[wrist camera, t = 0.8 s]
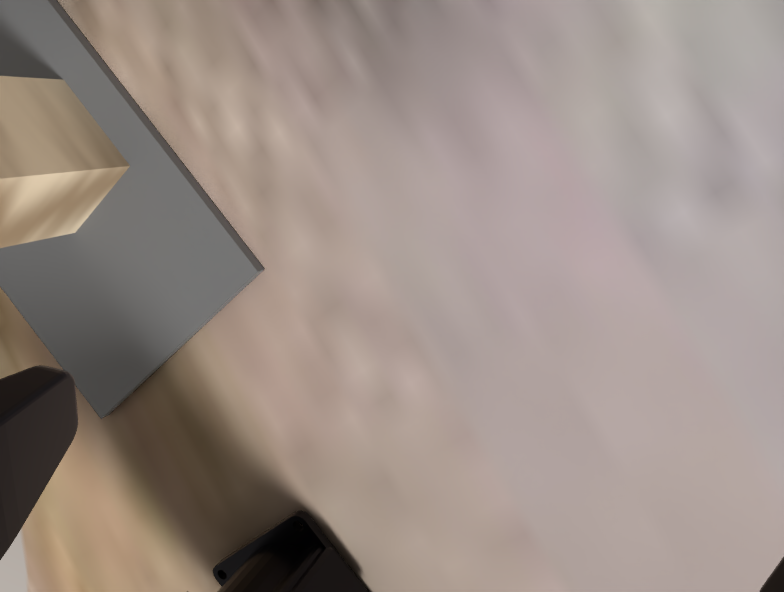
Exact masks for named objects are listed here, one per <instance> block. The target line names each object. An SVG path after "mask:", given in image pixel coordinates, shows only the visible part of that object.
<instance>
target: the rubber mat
mask: <svg viewBox="0 0 784 592" xmlns="http://www.w3.org/2000/svg"><path fill="white" fill-rule="evenodd" d="M0 76H11V77H28V78H44V79H61V80H64V81H65V82H66V83H67V85H68V86H69V87H70V89H71V90H72V91H73V93H74V94H75V95H76V96H77V98H78V99H79V100H80V102H81V103H82V104H83V105H84V107H85V108H86V109H87V111H88V112H89V113H90V115H91V116H92V117H93V118H94V120H95V121H96V122H97V124H98V125H99V126H100V127H101V129H102V130H103V131H104V133H105V134H106V135H107V137H108V138H109V139H110V140H111V142H112V143H113V144H114V146H115V147H116V148H117V150H118V151H119V152H120V153H121V155H122V156H123V157H124V159H125V160H126V161H127V162H128V164H129V165H130V167H129V168H128V169H127V171H126V172H125V173H124V174H123V175H122V177H121V178H120V179H119V180H118V181H117V183H116V184H115V185H114V186H113V188H112V189H111V190H110V191H109V192H108V194H107V195H106V196H105V197H104V198H103V200H102V201H101V202H100V203H99V205H98V206H97V207H96V208H95V209H94V211H93V212H92V213H91V214H90V215H89V217H88V218H87V219H86V220H85V222H84V223H83V224H82V225H81V226H80V228H79V229H78V230H77V231H76V233H72V234H67V235H62V236H57V237H52V238H47V239H42V240H38V241H33V242H28V243H23V244H18V245H13V246H8V247H3V248H0V287H1V288H2V290H3V291H4V292H5V293H6V295H7V296H8V297H9V299H10V300H11V301H12V303H13V304H14V305H15V307H16V308H17V309H18V311H19V312H20V313H21V314H22V316H23V317H24V318H25V320H26V321H27V322H28V324H29V325H30V326H31V328H32V329H33V330H34V332H35V333H36V334H37V335H38V337H39V338H40V339H41V341H42V342H43V343H44V345H45V346H46V347H47V349H48V350H49V351H50V353H51V354H52V355H53V356H54V358H55V359H56V360H57V362H58V363H59V364H60V366H61V367H62V368H63V370H64V371H68V372H69V373H71V374H72V376H73V377H74V380H75V385H76V387H77V388H78V389H79V391H80V392H81V393H82V395H83V396H84V397H85V399H86V400H87V401H88V402H89V404H90V405H91V406H92V408H93V409H94V410H95V412H96V413H97V414H98V416H99V417H100V418H101V419H102V418H103V417H105V416H107V415H109V414H110V413H111V412H112V411H113V410H114V409H115V408H116V407H117V406H118V405H120V404H121V403H122V402H123V401H124V400H125V399H126V398H127V397H128V396H129V395H130V394H131V393H132V392H133V391H135V390H136V389H137V388H138V387H139V386H140V385H141V384H142V383H143V382H144V381H145V380H146V379H147V378H148V377H150V376H151V375H152V374H153V373H154V372H155V371H156V370H157V369H158V368H159V367H160V366H161V365H162V364H163V363H165V362H166V361H167V360H168V359H169V358H170V357H171V356H172V355H173V354H174V353H175V352H176V351H177V350H178V349H180V348H181V347H182V346H183V345H184V344H185V343H186V342H187V341H188V340H189V339H190V338H191V337H192V336H193V335H195V334H196V333H197V332H198V331H199V330H200V329H201V328H202V327H203V326H204V325H205V324H206V323H207V322H208V321H210V320H211V319H212V318H213V317H214V316H215V315H216V314H217V313H218V312H219V311H220V310H221V309H222V308H223V307H225V306H226V305H227V304H228V303H229V302H230V301H231V300H232V299H233V298H234V297H235V296H236V295H237V294H238V293H240V292H241V291H242V290H243V289H244V288H245V287H246V286H247V285H248V284H249V283H250V282H251V281H252V280H253V279H254V278H256V277H257V276H258V275H259V274H260V273H261V272H262V271H263V270H264V268H263V266H262V265H261V264H260V263H259V261H258V260H257V259H256V257H255V256H254V255H253V253H252V252H251V251H250V250H249V248H248V247H247V246H246V244H245V243H244V242H243V241H242V239H241V238H240V237H239V235H238V234H237V233H236V232H235V230H234V229H233V228H232V226H231V225H230V224H229V222H228V221H227V220H226V219H225V217H224V216H223V215H222V213H221V212H220V211H219V210H218V208H217V207H216V206H215V204H214V203H213V202H212V201H211V199H210V198H209V197H208V195H207V194H206V193H205V191H204V190H203V189H202V188H201V186H200V185H199V184H198V182H197V181H196V180H195V179H194V177H193V176H192V175H191V173H190V172H189V171H188V170H187V168H186V167H185V166H184V164H183V163H182V162H181V160H180V159H179V158H178V157H177V155H176V154H175V153H174V151H173V150H172V149H171V148H170V146H169V145H168V144H167V142H166V141H165V140H164V139H163V137H162V136H161V135H160V133H159V132H158V131H157V129H156V128H155V127H154V126H153V124H152V123H151V122H150V120H149V119H148V118H147V117H146V115H145V114H144V113H143V111H142V110H141V109H140V108H139V106H138V105H137V104H136V102H135V101H134V100H133V98H132V97H131V96H130V95H129V93H128V92H127V91H126V89H125V88H124V87H123V86H122V84H121V83H120V82H119V80H118V79H117V78H116V77H115V75H114V74H113V73H112V71H111V70H110V69H109V67H108V66H107V65H106V64H105V62H104V61H103V60H102V58H101V57H100V56H99V55H98V53H97V52H96V51H95V49H94V48H93V47H92V46H91V44H90V43H89V42H88V40H87V39H86V38H85V37H84V35H83V34H82V33H81V31H80V30H79V29H78V27H77V26H76V25H75V24H74V22H73V21H72V20H71V18H70V17H69V16H68V15H67V13H66V12H65V11H64V9H63V8H62V7H61V6H60V4H59V3H58V2H57V0H0Z"/></svg>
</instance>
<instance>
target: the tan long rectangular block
mask: <svg viewBox="0 0 784 592" xmlns="http://www.w3.org/2000/svg"><path fill="white" fill-rule="evenodd" d="M129 167H130V165H129V164H128V162H127V161H126V160H125V159H124V157H123V156H122V155H121V153H120V152H119V151H118V150H117V148H116V147H115V146H114V144H113V143H112V142H111V140H110V139H109V138H108V137H107V135H106V134H105V133H104V131H103V130H102V129H101V127H100V126H99V125H98V124H97V122H96V121H95V120H94V118H93V117H92V116H91V115H90V113H89V112H88V111H87V109H86V108H85V107H84V105H83V104H82V103H81V102H80V100H79V99H78V98H77V96H76V95H75V94H74V93H73V91H72V90H71V89H70V87H69V86H68V85H67V83H66V82H65V81H64V80H61V79H44V78H28V77H11V76H0V248H3V247H8V246H13V245H18V244H23V243H28V242H33V241H38V240H42V239H47V238H52V237H57V236H62V235H67V234H72V233H76V231H77V230H78V229H79V228H80V226H81V225H82V224H83V223H84V222H85V220H86V219H87V218H88V217H89V215H90V214H91V213H92V212H93V211H94V209H95V208H96V207H97V206H98V205H99V203H100V202H101V201H102V200H103V198H104V197H105V196H106V195H107V194H108V192H109V191H110V190H111V189H112V188H113V186H114V185H115V184H116V183H117V181H118V180H119V179H120V178H121V177H122V175H123V174H124V173H125V172H126V171H127V169H128V168H129Z"/></svg>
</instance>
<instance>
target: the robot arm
mask: <svg viewBox="0 0 784 592" xmlns="http://www.w3.org/2000/svg"><path fill="white" fill-rule="evenodd" d="M77 426H78V415H77V402H76V389H75V380H74V377H73V376H72V374H71V373H69V372H68V371H64V370H60V369H56V368H52V367H48V366H41V365H39V366H34V367H31V368H29V369H26V370H23V371H21V372H18V373H15V374H13V375H10V376H7V377H5V378H2V379H0V560H1V558H2V557H3V556H4V554H5V552H6V551H7V550H8V548H9V547H10V545H11V544H12V542H13V541H14V539H15V537H16V536H17V534H18V533H19V531H20V529H21V528H22V526H23V524H24V523H25V521H26V519H27V518H28V516H29V514H30V513H31V511H32V509H33V507H34V506H35V504H36V502H37V501H38V499H39V497H40V495H41V494H42V492H43V490H44V489H45V487H46V485H47V484H48V482H49V480H50V478H51V477H52V475H53V473H54V472H55V470H56V468H57V467H58V465H59V463H60V461H61V460H62V458H63V456H64V455H65V453H66V451H67V449H68V448H69V446H70V444H71V443H72V441H73V439H74V436H75V434H76V431H77ZM298 521H300V522H301V523H302V525H303V526H301V525H300V524H299V523H298ZM213 574H214V576H215V578H216V580H217V581H218V582H219V584H220V585H221V586H222V587H221V588H220V590H219V591H218V592H368V591H367V590H366V588H365V587H364V586H363V584H362V583H361V582H360V581H359V579H358V578H357V577H356V575H355V574H354V573H353V571H352V570H351V569H350V568H349V566H348V565H347V564H346V562H345V561H344V560H343V558H342V557H341V556H340V554H339V553H338V552H337V551H336V549H335V548H334V547H333V545H332V544H331V543H330V541H329V540H328V539H327V538H326V536H325V535H324V534H323V532H322V531H321V530H320V528H319V527H318V526H317V525H316V523H315V522H314V521H313V519H312V518H311V517H310V516H309V515H308V514H307V513H306V512H304V511H296V512H294V513H293V514H291V515H290V516H288V517H287V518H285V519H284V520H282V521H281V522H279V523H278V524H276V525H275V526H273V527H272V528H270V529H268V530H267V531H265V532H264V533H262V534H261V535H259V536H258V537H256V538H255V539H253V540H252V541H250V542H249V543H247V544H246V545H244V546H243V547H241V548H239V549H238V550H236V551H235V552H233V553H232V554H230V555H229V556H227V557H226V558H224V559H223V560H221V561H220V562H219V563H218V564H217V565H216V566H215V567H214V569H213ZM187 592H188V591H187ZM760 592H784V557H783V558H782V560H781V561H780V563H779V564H778V565H777V567H776V568H775V569H774V571H773V572H772V574H771V575H770V576H769V578H768V579H767V581H766V582H765V583H764V585H763V586H762V588H761V590H760Z"/></svg>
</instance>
